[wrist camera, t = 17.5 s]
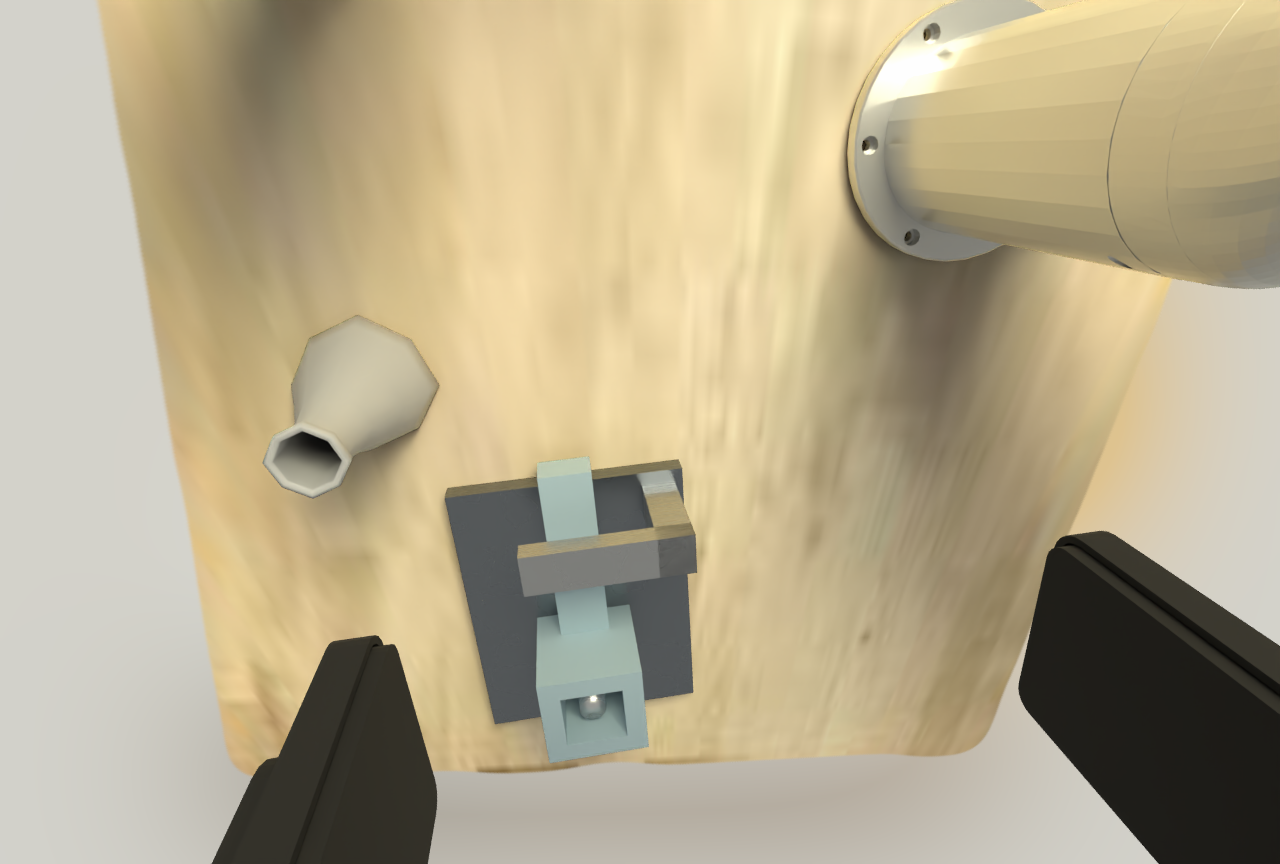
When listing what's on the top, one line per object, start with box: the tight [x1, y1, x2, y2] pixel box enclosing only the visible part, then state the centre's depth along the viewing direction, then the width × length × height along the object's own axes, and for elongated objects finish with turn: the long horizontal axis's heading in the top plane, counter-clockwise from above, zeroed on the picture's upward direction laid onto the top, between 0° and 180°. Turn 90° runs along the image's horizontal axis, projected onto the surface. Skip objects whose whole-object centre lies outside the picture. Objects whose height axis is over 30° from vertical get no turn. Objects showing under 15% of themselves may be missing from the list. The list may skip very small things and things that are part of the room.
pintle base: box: [445, 460, 697, 724], centre depth 40 cm, size 14×18×7 cm
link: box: [536, 457, 649, 763], centre depth 38 cm, size 17×6×6 cm, turn 4°
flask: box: [263, 315, 439, 498], centre depth 31 cm, size 7×7×10 cm
